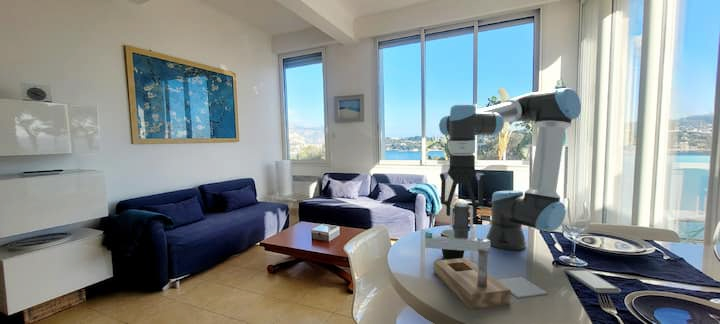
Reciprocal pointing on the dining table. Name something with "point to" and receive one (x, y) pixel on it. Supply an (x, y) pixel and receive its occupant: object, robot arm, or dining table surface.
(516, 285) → the mat
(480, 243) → the crank
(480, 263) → the socket block
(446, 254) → the mug
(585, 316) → the dining table surface
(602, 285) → the smartphone
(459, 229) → the plug
